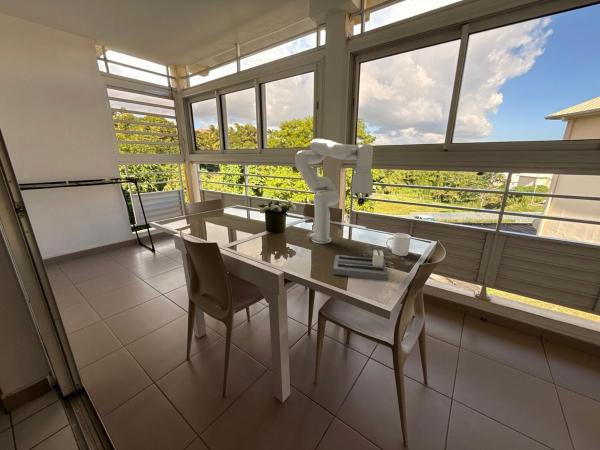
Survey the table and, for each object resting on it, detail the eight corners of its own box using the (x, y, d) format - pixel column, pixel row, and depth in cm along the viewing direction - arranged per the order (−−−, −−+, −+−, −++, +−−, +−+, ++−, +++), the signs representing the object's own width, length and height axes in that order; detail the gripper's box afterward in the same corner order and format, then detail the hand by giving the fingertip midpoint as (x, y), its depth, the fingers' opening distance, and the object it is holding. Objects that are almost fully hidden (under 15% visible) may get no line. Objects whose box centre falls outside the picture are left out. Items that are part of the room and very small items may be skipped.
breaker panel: (332, 274, 110) (333, 266, 109) (335, 259, 125) (335, 252, 124) (387, 280, 106) (388, 271, 104) (383, 264, 121) (384, 257, 119)
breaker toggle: (373, 266, 111) (374, 254, 109) (372, 261, 116) (373, 249, 114) (382, 267, 110) (383, 255, 108) (381, 262, 115) (382, 250, 114)
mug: (386, 248, 142) (388, 231, 139) (408, 252, 137) (410, 234, 134) (384, 253, 134) (386, 235, 131) (407, 257, 129) (410, 238, 126)
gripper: (348, 170, 120) (346, 206, 125) (379, 171, 117) (375, 208, 122) (348, 169, 127) (346, 203, 132) (378, 170, 124) (374, 205, 129)
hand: (360, 205), depth 127 cm, fingers closed
